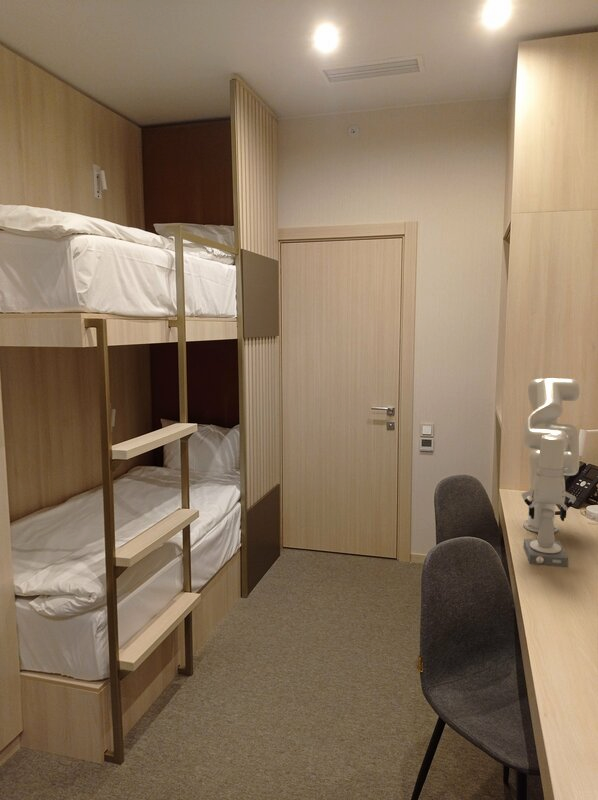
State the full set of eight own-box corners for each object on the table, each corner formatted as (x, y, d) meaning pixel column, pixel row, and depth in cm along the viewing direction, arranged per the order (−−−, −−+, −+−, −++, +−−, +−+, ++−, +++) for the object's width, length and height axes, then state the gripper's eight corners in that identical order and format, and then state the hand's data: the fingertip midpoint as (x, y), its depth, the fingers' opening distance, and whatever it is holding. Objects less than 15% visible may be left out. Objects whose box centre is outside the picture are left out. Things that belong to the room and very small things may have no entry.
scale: (523, 546, 210) (524, 536, 209) (559, 549, 207) (559, 539, 206) (529, 563, 196) (530, 553, 195) (567, 567, 193) (568, 556, 193)
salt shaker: (543, 550, 198) (545, 513, 196) (532, 543, 203) (535, 507, 201) (558, 548, 199) (560, 512, 197) (547, 541, 205) (549, 506, 202)
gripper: (575, 469, 198) (571, 516, 202) (521, 466, 202) (518, 512, 206) (580, 476, 191) (576, 524, 195) (524, 473, 195) (521, 521, 199)
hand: (546, 518), depth 200 cm, fingers open, 9 cm apart
